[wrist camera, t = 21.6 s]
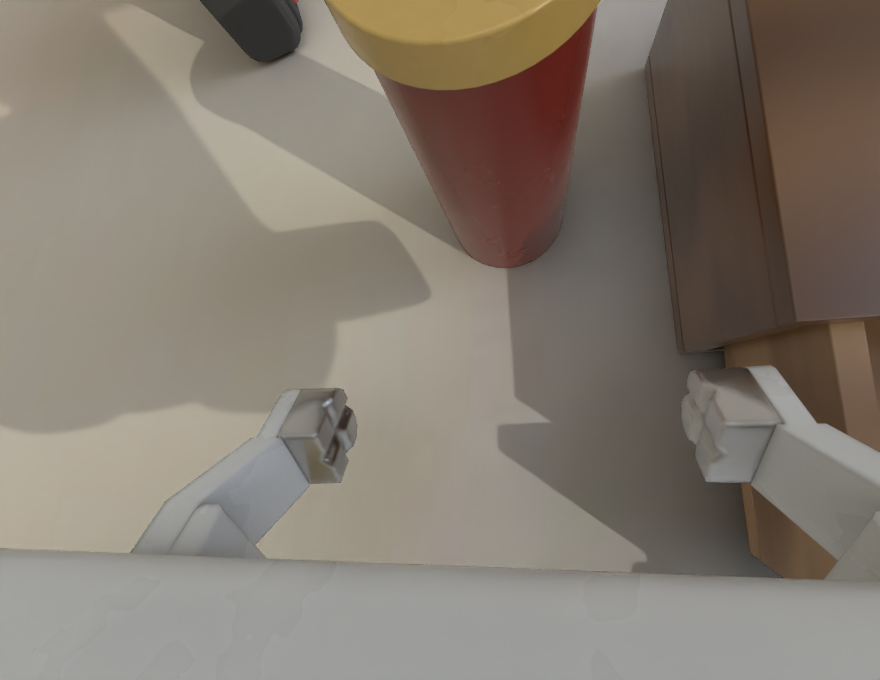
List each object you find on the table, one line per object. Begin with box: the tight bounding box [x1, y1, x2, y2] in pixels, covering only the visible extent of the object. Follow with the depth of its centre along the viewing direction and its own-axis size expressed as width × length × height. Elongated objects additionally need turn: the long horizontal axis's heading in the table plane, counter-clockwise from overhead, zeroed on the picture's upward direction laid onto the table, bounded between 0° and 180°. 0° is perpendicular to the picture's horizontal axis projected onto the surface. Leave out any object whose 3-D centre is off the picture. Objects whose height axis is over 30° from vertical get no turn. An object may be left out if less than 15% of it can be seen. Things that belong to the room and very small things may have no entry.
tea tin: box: [324, 0, 600, 268], centre depth 14 cm, size 6×6×14 cm
